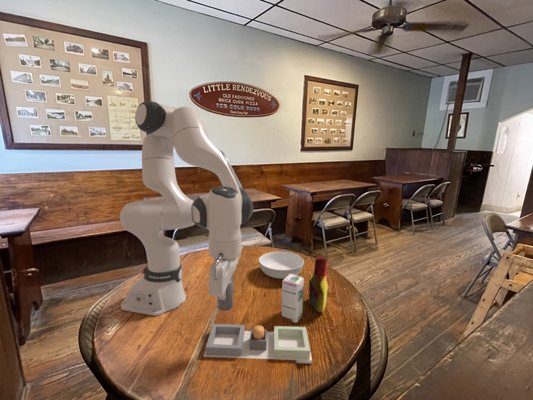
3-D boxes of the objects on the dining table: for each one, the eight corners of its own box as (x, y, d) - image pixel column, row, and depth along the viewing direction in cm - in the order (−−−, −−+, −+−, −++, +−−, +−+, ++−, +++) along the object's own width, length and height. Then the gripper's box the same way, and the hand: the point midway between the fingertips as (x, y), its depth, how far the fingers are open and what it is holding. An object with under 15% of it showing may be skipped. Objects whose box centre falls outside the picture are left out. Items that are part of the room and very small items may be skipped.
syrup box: (296, 323, 90) (298, 284, 87) (280, 318, 93) (282, 279, 90) (302, 314, 95) (305, 277, 92) (287, 309, 98) (289, 272, 95)
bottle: (329, 315, 94) (333, 263, 90) (310, 315, 95) (314, 262, 91) (323, 297, 106) (326, 249, 102) (306, 296, 106) (309, 249, 102)
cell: (214, 307, 76) (214, 279, 74) (224, 299, 80) (224, 273, 78) (226, 312, 74) (226, 284, 72) (236, 304, 78) (236, 277, 76)
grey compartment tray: (203, 359, 74) (202, 347, 73) (212, 332, 85) (211, 321, 84) (311, 363, 74) (312, 351, 73) (306, 335, 84) (307, 324, 84)
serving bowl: (305, 266, 133) (306, 253, 131) (300, 288, 113) (300, 272, 111) (264, 261, 138) (265, 248, 136) (252, 281, 118) (253, 266, 116)
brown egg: (252, 343, 77) (252, 332, 76) (253, 335, 80) (253, 325, 80) (263, 343, 77) (264, 332, 76) (264, 336, 80) (264, 325, 80)
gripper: (227, 264, 63) (227, 316, 66) (242, 234, 83) (242, 275, 86) (201, 263, 63) (202, 314, 66) (222, 233, 83) (222, 274, 86)
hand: (225, 292), depth 76 cm, fingers closed on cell, 4 cm apart
